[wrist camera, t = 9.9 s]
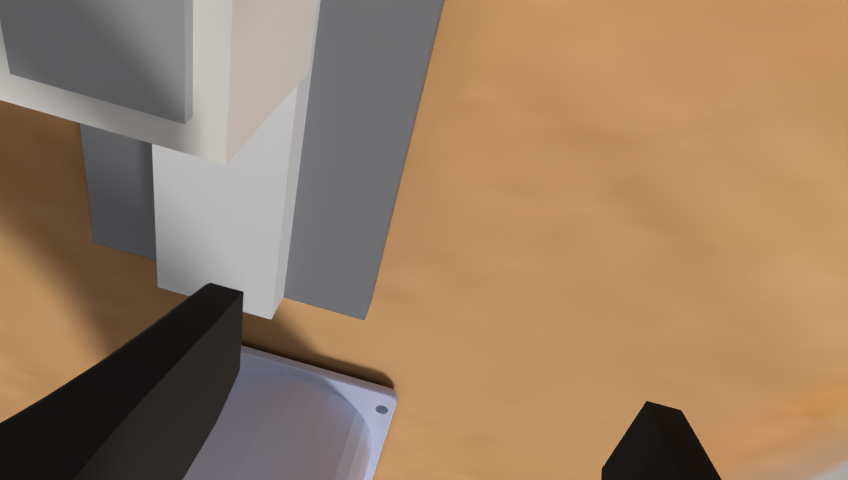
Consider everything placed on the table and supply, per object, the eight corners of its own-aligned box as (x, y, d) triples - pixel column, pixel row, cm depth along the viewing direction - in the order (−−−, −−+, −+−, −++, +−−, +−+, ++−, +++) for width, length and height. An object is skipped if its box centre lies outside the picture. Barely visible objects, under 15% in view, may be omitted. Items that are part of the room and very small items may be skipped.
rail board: (371, 301, 23) (333, 409, 19) (109, 226, 23) (14, 318, 19) (567, -506, 11) (580, -687, 7) (24, -664, 11) (-281, -938, 7)
